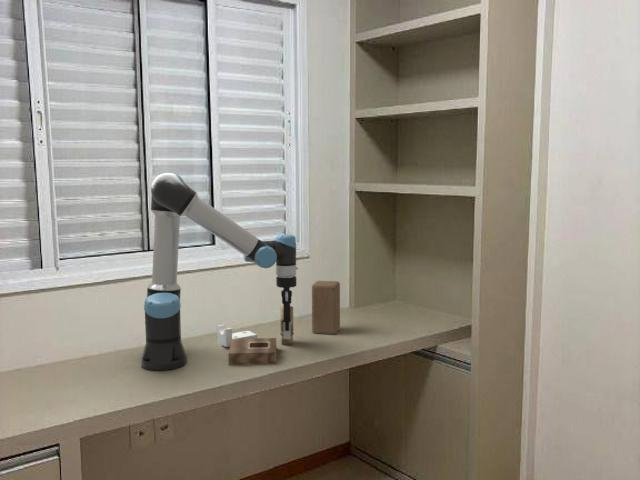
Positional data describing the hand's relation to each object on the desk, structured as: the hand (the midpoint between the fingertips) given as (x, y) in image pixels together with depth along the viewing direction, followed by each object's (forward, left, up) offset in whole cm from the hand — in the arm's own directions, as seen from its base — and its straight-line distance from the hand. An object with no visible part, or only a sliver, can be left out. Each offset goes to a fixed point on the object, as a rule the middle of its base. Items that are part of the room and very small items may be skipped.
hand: (287, 336), depth 236 cm
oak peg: (0, 0, -3) cm, 3 cm away
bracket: (-19, +2, -3) cm, 19 cm away
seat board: (-12, -15, -3) cm, 19 cm away
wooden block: (+16, +17, -3) cm, 24 cm away
